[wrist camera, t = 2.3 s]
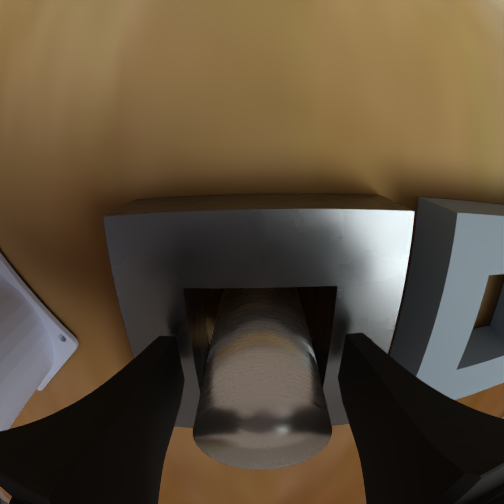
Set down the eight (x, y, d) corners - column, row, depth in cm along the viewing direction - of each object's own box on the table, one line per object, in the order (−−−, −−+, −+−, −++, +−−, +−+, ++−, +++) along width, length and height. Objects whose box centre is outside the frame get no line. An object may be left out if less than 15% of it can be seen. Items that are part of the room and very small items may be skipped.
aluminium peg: (203, 304, 13) (165, 431, 7) (264, 253, 12) (271, 373, 6) (257, 352, 14) (257, 479, 7) (316, 309, 13) (356, 435, 7)
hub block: (382, 376, 15) (399, 414, 12) (418, 196, 11) (457, 212, 8) (499, 350, 14) (521, 374, 12) (539, 209, 11) (572, 223, 8)
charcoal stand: (170, 383, 15) (157, 424, 12) (136, 199, 12) (102, 216, 9) (352, 381, 15) (365, 421, 12) (380, 195, 11) (414, 211, 9)
